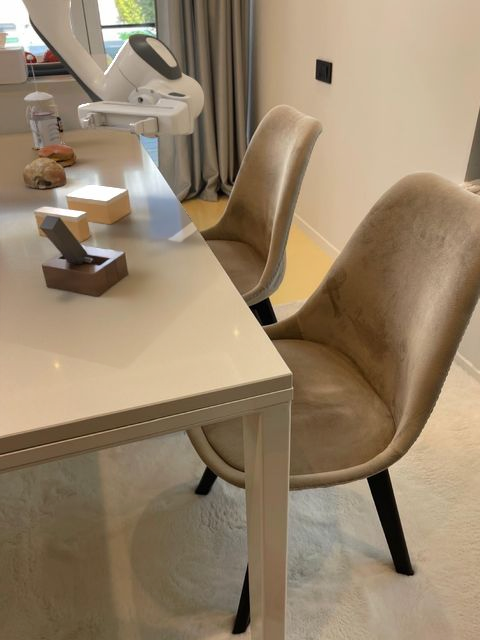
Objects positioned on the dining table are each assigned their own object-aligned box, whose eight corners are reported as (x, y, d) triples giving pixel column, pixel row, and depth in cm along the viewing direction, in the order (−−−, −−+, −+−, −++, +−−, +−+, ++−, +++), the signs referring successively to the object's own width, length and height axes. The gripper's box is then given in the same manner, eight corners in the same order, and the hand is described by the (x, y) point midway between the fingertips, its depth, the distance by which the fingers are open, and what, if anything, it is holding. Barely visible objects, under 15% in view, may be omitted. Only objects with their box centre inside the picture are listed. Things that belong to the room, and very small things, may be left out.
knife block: (46, 287, 92) (41, 264, 90) (80, 265, 99) (75, 244, 97) (97, 296, 89) (93, 274, 87) (128, 273, 96) (125, 252, 94)
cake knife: (77, 279, 95) (31, 226, 83) (83, 267, 96) (39, 213, 84) (102, 283, 94) (59, 230, 81) (107, 272, 95) (66, 217, 82)
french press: (71, 143, 174) (54, 52, 160) (51, 152, 165) (31, 57, 151) (43, 141, 176) (23, 52, 162) (22, 151, 167) (-1, 56, 153)
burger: (68, 157, 160) (64, 140, 158) (82, 164, 154) (79, 146, 152) (34, 163, 155) (30, 146, 152) (48, 171, 149) (44, 153, 146)
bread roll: (29, 204, 137) (23, 178, 131) (22, 176, 142) (16, 149, 135) (71, 198, 141) (67, 173, 134) (62, 171, 145) (58, 145, 139)
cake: (70, 218, 119) (65, 195, 116) (92, 206, 125) (88, 184, 122) (110, 224, 116) (106, 201, 113) (131, 212, 122) (128, 189, 119)
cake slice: (39, 235, 111) (33, 210, 108) (49, 230, 113) (44, 206, 111) (81, 242, 108) (76, 217, 105) (90, 236, 110) (86, 212, 108)
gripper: (101, 89, 105) (53, 102, 94) (199, 96, 99) (159, 110, 88) (106, 125, 108) (61, 141, 98) (201, 133, 102) (163, 151, 91)
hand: (108, 126), depth 93 cm, fingers open, 8 cm apart
